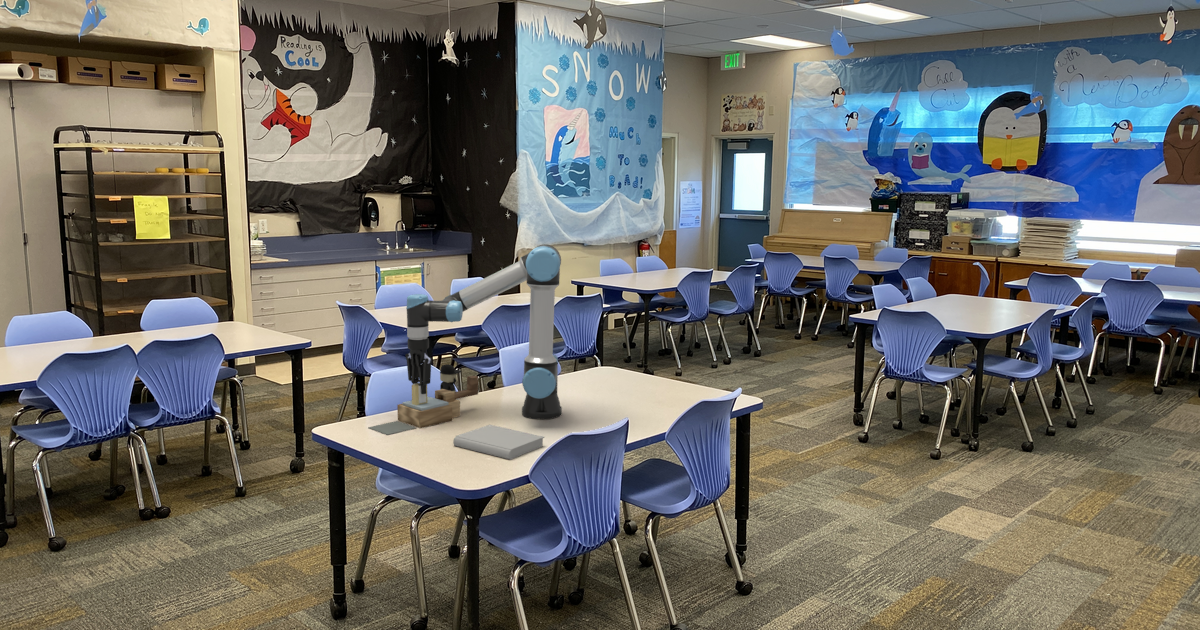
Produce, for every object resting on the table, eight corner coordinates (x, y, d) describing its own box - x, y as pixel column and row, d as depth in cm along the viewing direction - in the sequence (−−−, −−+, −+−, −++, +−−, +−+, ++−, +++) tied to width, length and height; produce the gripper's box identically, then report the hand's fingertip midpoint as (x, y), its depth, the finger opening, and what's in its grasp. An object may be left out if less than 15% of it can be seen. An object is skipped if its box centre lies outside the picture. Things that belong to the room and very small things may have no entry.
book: (489, 424, 299) (544, 436, 286) (489, 435, 299) (544, 447, 286) (453, 436, 284) (508, 450, 271) (453, 447, 284) (508, 461, 271)
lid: (448, 404, 313) (448, 383, 312) (421, 410, 305) (421, 388, 304) (429, 399, 321) (428, 378, 320) (402, 404, 313) (401, 383, 311)
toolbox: (465, 417, 319) (465, 392, 317) (420, 428, 304) (420, 402, 303) (442, 410, 328) (441, 386, 327) (397, 420, 313) (397, 395, 312)
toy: (465, 400, 344) (465, 363, 342) (449, 404, 338) (448, 366, 336) (452, 397, 349) (452, 360, 347) (436, 400, 343) (436, 364, 340)
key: (478, 394, 329) (478, 376, 328) (446, 401, 318) (446, 382, 317) (473, 393, 331) (473, 375, 330) (441, 399, 320) (441, 381, 319)
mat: (416, 428, 304) (416, 427, 304) (387, 435, 295) (387, 434, 295) (396, 421, 312) (396, 420, 312) (368, 428, 303) (368, 427, 303)
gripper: (440, 339, 305) (441, 403, 308) (414, 333, 315) (415, 396, 319) (422, 341, 299) (424, 407, 303) (396, 336, 310) (398, 399, 313)
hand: (419, 401), depth 311 cm, fingers closed on lid, 2 cm apart
